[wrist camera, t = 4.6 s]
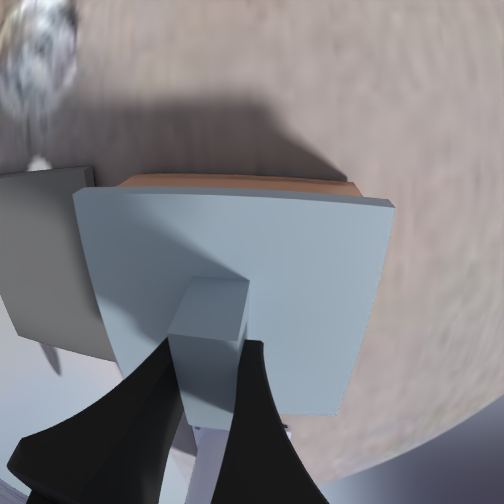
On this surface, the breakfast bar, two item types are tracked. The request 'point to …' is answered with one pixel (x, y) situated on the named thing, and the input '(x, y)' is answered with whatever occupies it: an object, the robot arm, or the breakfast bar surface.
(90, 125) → the breakfast bar surface
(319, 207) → the lid
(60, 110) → the breakfast bar surface
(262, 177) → the square open tray
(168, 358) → the robot arm
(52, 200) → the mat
